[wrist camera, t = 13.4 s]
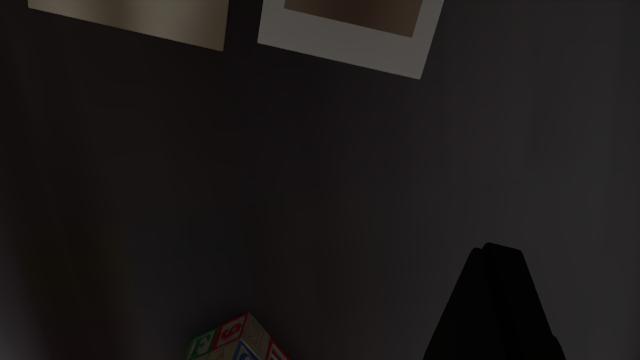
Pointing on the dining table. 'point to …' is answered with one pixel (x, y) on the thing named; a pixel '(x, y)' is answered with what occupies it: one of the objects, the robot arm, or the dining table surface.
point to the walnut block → (365, 13)
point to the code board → (152, 17)
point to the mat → (351, 38)
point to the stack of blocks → (235, 342)
